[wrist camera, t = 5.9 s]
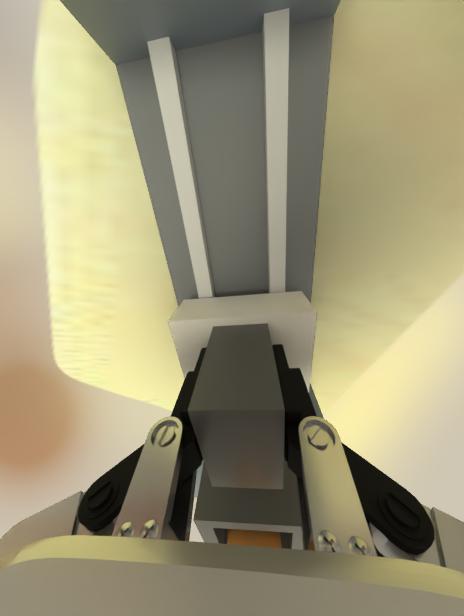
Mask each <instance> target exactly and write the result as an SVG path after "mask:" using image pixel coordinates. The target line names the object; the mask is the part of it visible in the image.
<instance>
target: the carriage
mask: <svg viewBox="0 0 464 616" xmlns="http://www.w3.org/2000/svg"><path fill="white" fill-rule="evenodd" d="M316 318H317V311H316V310H315V309H314V307H313V306H312V304H311V303H310V302H309V300H308V299H307V298H306V296H305V295H304V294H303V292H302V291H294V292H281V293H267V294H254V295H241V296H227V297H214V298H201V299H187V300H183V302H182V303H181V304H180V306H179V307H178V308H177V310H176V311H175V312H174V314H173V315H172V316H171V318H170V319H169V320H168V324H169V327H170V331H171V334H172V337H173V341H174V344H175V347H176V351H177V354H178V357H179V361H180V364H181V367H182V371H183V374H184V377H186V375H187V373H188V372H189V371H194V369H195V366H196V363H197V360H198V357H199V354H200V351H201V349H202V348H206V351H205V355H204V358H203V361H202V365H201V368H200V371H199V374H198V378H197V381H196V384H195V388H194V391H193V394H192V398H191V401H190V404H189V407H188V413H189V417H190V420H191V423H192V426H193V429H194V432H195V435H196V438H197V441H198V444H199V447H200V451H201V454H202V457H203V460H204V463H205V466H206V469H207V472H208V475H209V478H210V482H211V485H212V487H234V488H259V489H283V477H284V430H285V408H284V403H283V398H282V393H281V388H280V383H279V377H278V372H277V367H276V362H275V357H274V352H273V347H272V345H275V344H282V345H283V348H284V351H285V355H286V359H287V362H288V366H289V368H300V370H301V372H302V375H303V378H304V381H305V384H306V387H307V389H308V392H309V388H310V378H311V368H312V358H313V348H314V338H315V328H316Z"/></svg>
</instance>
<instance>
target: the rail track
mask: <svg viewBox="0 0 464 616" xmlns="http://www.w3.org/2000/svg"><path fill="white" fill-rule="evenodd" d="M60 1H61V2H62V3H63V4H64V6H65V7H66V8H67V9H68V10H69V11H70V13H71V14H72V15H73V16H74V17H75V18H76V20H77V21H78V22H79V23H80V24H81V25H82V26H83V28H84V29H85V30H86V31H87V32H88V33H89V35H90V36H91V37H92V38H93V39H94V40H95V41H96V43H97V44H98V45H99V46H100V47H101V48H102V50H103V51H104V52H105V53H106V54H107V55H108V56H109V58H110V59H111V60H112V61H113V62H114V63H115V65H116V67H117V71H118V75H119V79H120V83H121V86H122V90H123V94H124V98H125V102H126V106H127V110H128V113H129V117H130V121H131V125H132V129H133V133H134V137H135V140H136V144H137V148H138V152H139V156H140V160H141V164H142V167H143V171H144V175H145V179H146V183H147V187H148V191H149V194H150V198H151V202H152V206H153V210H154V214H155V218H156V221H157V225H158V229H159V233H160V237H161V241H162V244H163V248H164V252H165V256H166V260H167V264H168V268H169V271H170V275H171V279H172V283H173V287H174V291H175V295H176V298H177V302H178V306H180V304H181V303H182V302H183V300H187V299H201V298H214V297H227V296H241V295H254V294H267V293H281V292H294V291H302V292H303V294H304V295H305V296H306V298H307V299H308V300H309V302H310V303H311V292H312V280H313V268H314V255H315V243H316V231H317V219H318V206H319V194H320V182H321V169H322V157H323V145H324V132H325V120H326V108H327V95H328V83H329V71H330V59H331V46H332V34H333V22H334V14H335V12H336V9H337V7H338V5H339V3H340V0H60ZM309 395H310V398H311V401H312V404H313V407H314V409H315V412H316V415H317V417H321V418H323V415H322V413H321V410H320V408H319V405H318V402H317V400H316V397H315V394H314V392H313V389H312V387H311V384H310V388H309ZM323 419H324V418H323ZM194 497H197V503H196V509H195V514H194V522H195V524H196V526H197V528H198V530H199V532H200V534H201V536H202V538H203V540H204V542H205V543H218V544H227V538H228V529H241V530H256V531H272V532H280V535H281V545H282V548H284V549H297V550H303V541H302V532H301V522H300V513H299V503H298V494H297V484H296V475H295V474H294V473H293V472H292V471H291V470H290V469H289V468H288V465H287V461H285V459H284V477H283V489H259V488H234V487H212V485H211V482H210V478H209V475H208V472H207V469H206V466H205V463H204V460H202V465H201V466H200V467H199V468H198V469H197V475H196V484H195V492H194Z"/></svg>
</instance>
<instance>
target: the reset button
mask: <svg viewBox="0 0 464 616" xmlns="http://www.w3.org/2000/svg"><path fill="white" fill-rule="evenodd" d="M227 544H231V545H245V546H258V547H272V548H282V545H281V535H280V532H272V531H256V530H241V529H228V538H227Z"/></svg>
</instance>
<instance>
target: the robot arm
mask: <svg viewBox="0 0 464 616" xmlns="http://www.w3.org/2000/svg"><path fill="white" fill-rule="evenodd" d="M272 347H273V352H274V357H275V362H276V367H277V372H278V377H279V383H280V388H281V393H282V398H283V403H284V408H285V430H284V459H285V461H287V465H288V468H289V469H290V470H291V471H292V472H293V473H294V474H295V475H296V484H297V494H298V503H299V513H300V522H301V532H302V541H303V550H297V549H284V548H272V547H258V546H245V545H231V544H218V543H203V542H189V535H190V527H191V519H192V509H193V501H194V492H195V484H196V475H197V469H198V468H199V467H200V466H201V465H202V460H203V457H202V454H201V451H200V447H199V444H198V441H197V438H196V435H195V432H194V429H193V426H192V423H191V420H190V417H189V413H188V407H189V404H190V401H191V398H192V394H193V391H194V388H195V384H196V381H197V378H198V374H199V371H200V368H201V365H202V361H203V358H204V355H205V351H206V348H202V349H201V351H200V354H199V357H198V360H197V363H196V366H195V369H194V371H189V372H188V373H187V375H186V377H185V380H184V383H183V385H182V388H181V391H180V393H179V396H178V399H177V401H176V404H175V407H174V409H173V412H172V415H171V417H166V418H163V419H162V420H160V421H158V422H157V423H156V424H155V425H154V426H153V427H152V428H151V430H150V432H149V434H148V436H147V439H146V442H145V444H144V445H142V446H141V447H140V448H138V449H137V450H136V451H134V452H133V453H132V454H130V455H129V456H128V457H126V458H125V459H124V460H122V461H121V462H120V463H118V464H117V465H116V466H115V467H113V468H112V469H110V470H109V471H108V472H106V473H105V474H104V475H103V476H101V477H100V478H99V479H97V480H96V481H95V482H94V483H93V484H92V485H91V487H90V488H89V489H88V490H87V491H86V492H84V493H83V492H82V491H80V492H78V493H76V494H74V495H72V496H70V497H68V498H66V499H64V500H62V501H60V502H59V503H56V504H54V505H52V506H50V507H48V508H46V509H44V510H42V511H40V512H38V513H36V514H34V515H32V516H30V517H28V518H26V519H24V520H22V521H21V522H19V523H18V524H16V525H15V526H13V527H12V528H11V529H10V530H9V531H8V532H7V533H6V534H5V535H3V537H2V538H1V539H0V616H464V522H462V521H460V520H458V519H456V518H454V517H452V516H450V515H448V514H446V513H444V512H442V511H440V510H438V509H436V508H434V507H433V508H432V509H430V508H428V507H426V506H424V505H422V504H421V503H420V502H419V501H418V500H417V499H416V498H415V497H414V496H413V495H412V494H411V493H410V492H408V491H407V490H406V489H405V488H403V487H402V486H401V485H399V484H398V483H397V482H395V481H394V480H392V479H391V478H390V477H388V476H387V475H386V474H384V473H383V472H381V471H380V470H378V469H377V468H376V467H375V466H373V465H372V464H370V463H369V462H368V461H366V460H365V459H363V458H362V457H361V456H359V455H358V454H357V453H355V452H354V451H353V450H351V449H350V448H348V447H347V446H346V445H344V444H343V443H342V442H341V440H340V437H339V435H338V433H337V430H336V429H335V428H334V427H333V425H332V424H330V423H329V422H328V421H327V420H325V419H323V418H321V417H317V415H316V412H315V409H314V407H313V404H312V401H311V398H310V395H309V392H308V389H307V387H306V384H305V381H304V378H303V375H302V372H301V370H300V368H289V366H288V362H287V359H286V355H285V351H284V348H283V345H282V344H275V345H272Z"/></svg>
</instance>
